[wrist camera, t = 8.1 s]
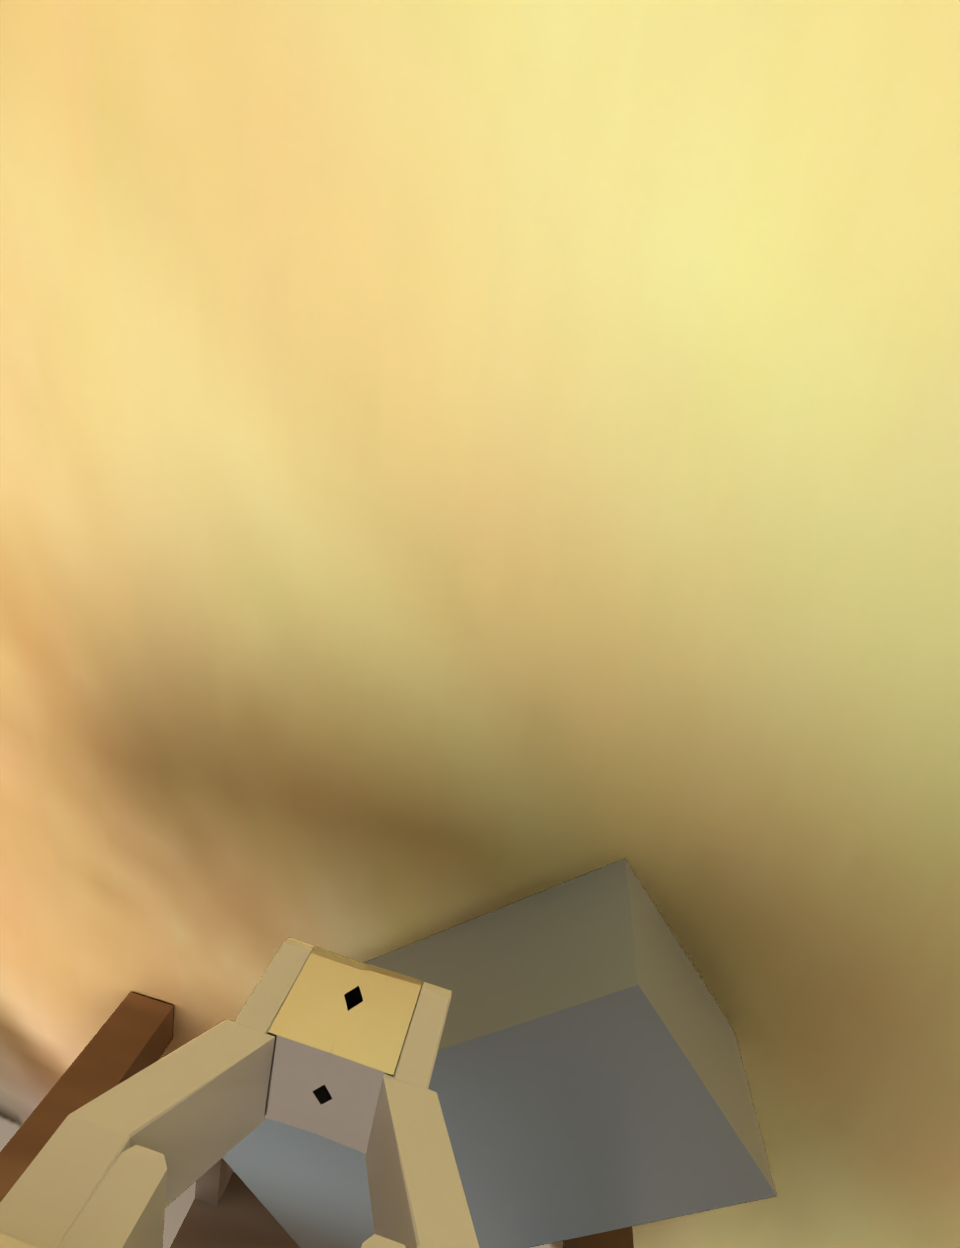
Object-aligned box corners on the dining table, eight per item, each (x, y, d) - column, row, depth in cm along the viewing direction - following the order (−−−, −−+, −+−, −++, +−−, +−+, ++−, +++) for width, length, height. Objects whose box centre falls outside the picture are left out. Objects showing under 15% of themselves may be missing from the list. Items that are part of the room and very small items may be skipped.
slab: (624, 850, 15) (637, 984, 12) (732, 1021, 16) (777, 1196, 13) (275, 991, 19) (197, 1130, 15) (381, 1125, 20) (335, 1287, 16)
